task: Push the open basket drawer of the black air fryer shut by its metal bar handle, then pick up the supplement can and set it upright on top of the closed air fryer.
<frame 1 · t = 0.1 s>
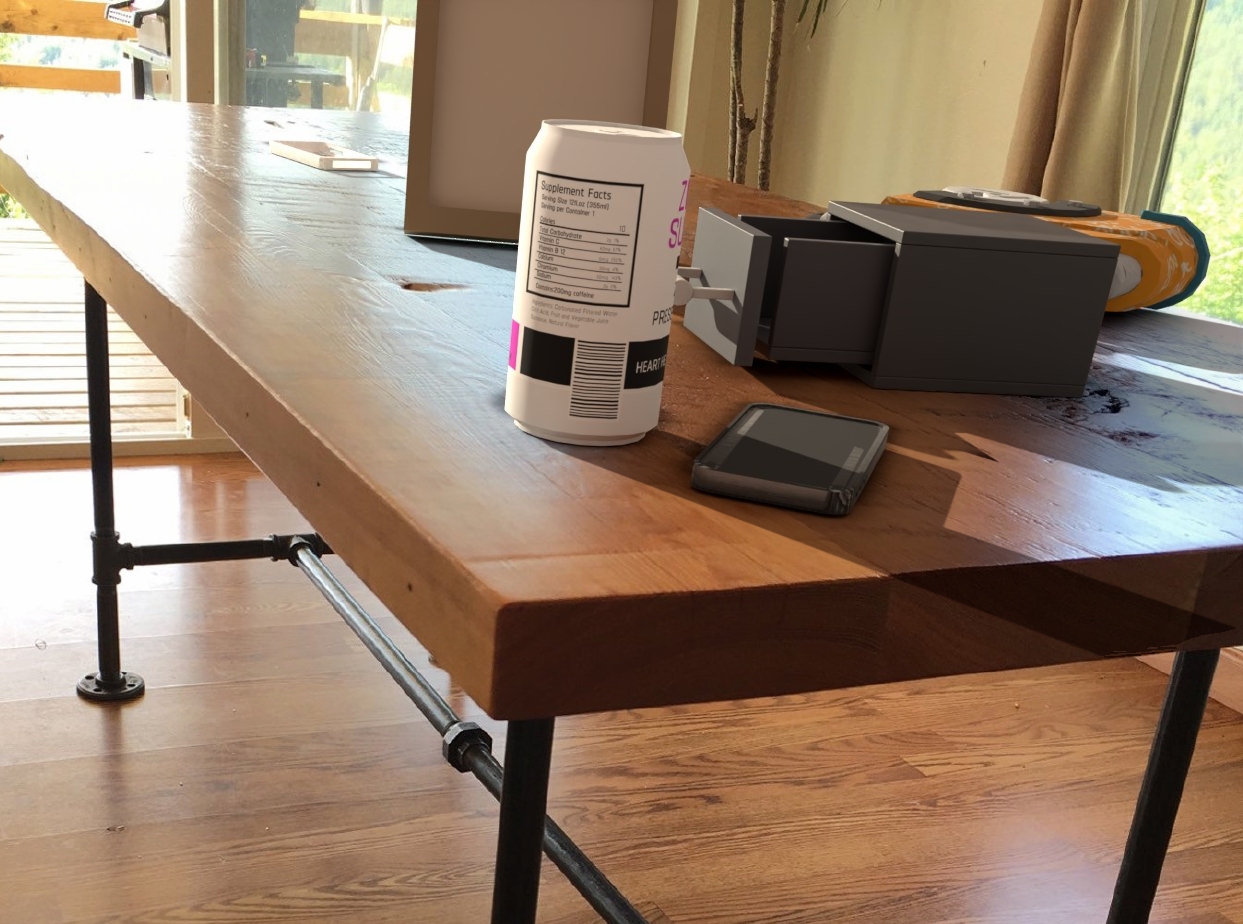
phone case: (322, 163, 177), on the table
device: (987, 299, 132), on the table
supplement can: (579, 431, 81), on the table
photo frame: (524, 241, 138), on the table
phone: (793, 468, 78), on the table
air fryer: (937, 369, 103), on the table
drawer: (783, 287, 98), point 5 cm above the table, slide at 8.0 cm
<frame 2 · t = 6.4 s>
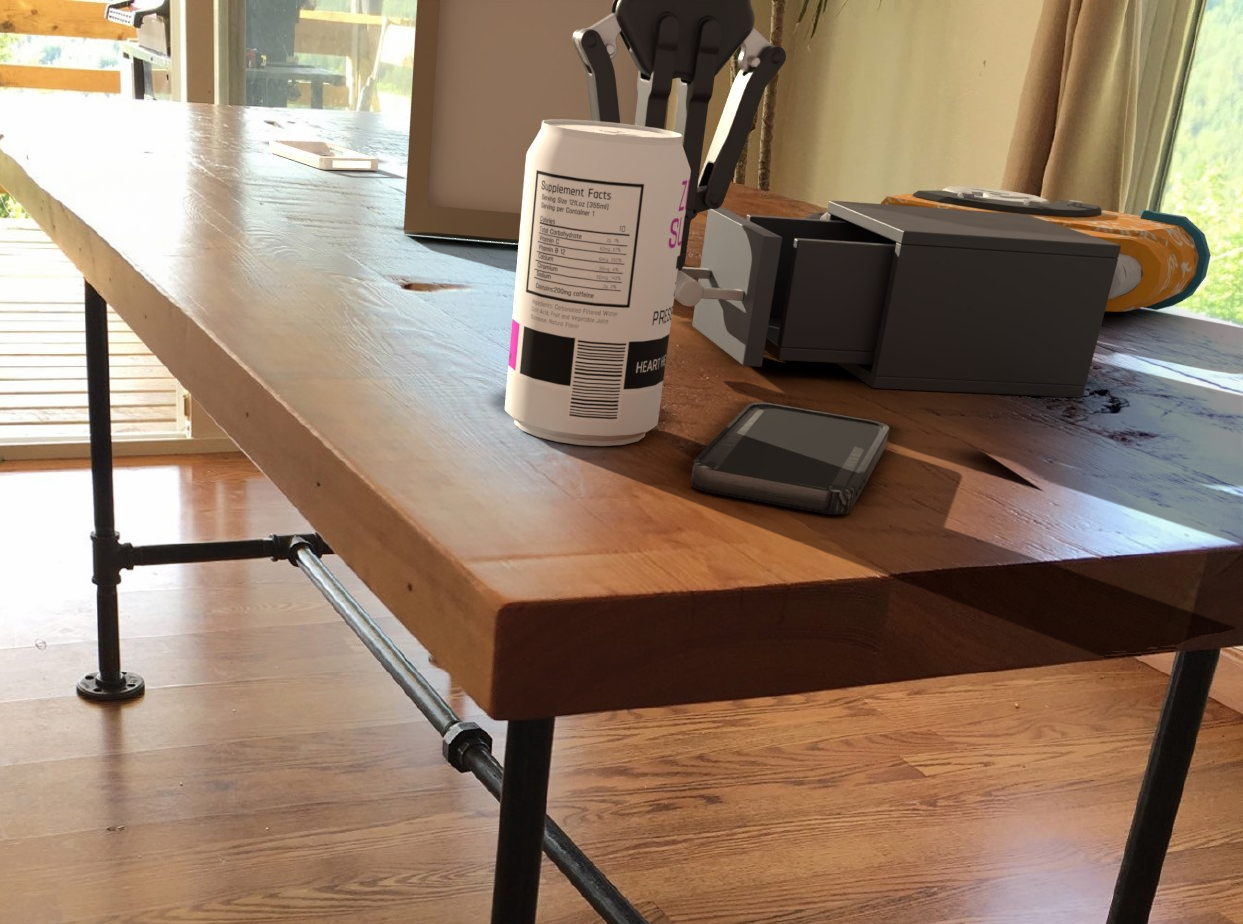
hand: (645, 320, 98), 2 cm above the table, tool pointing down, fingers closed
drawer: (792, 288, 98), point 5 cm above the table, slide at 7.4 cm, touching gripper
everything else where it was.
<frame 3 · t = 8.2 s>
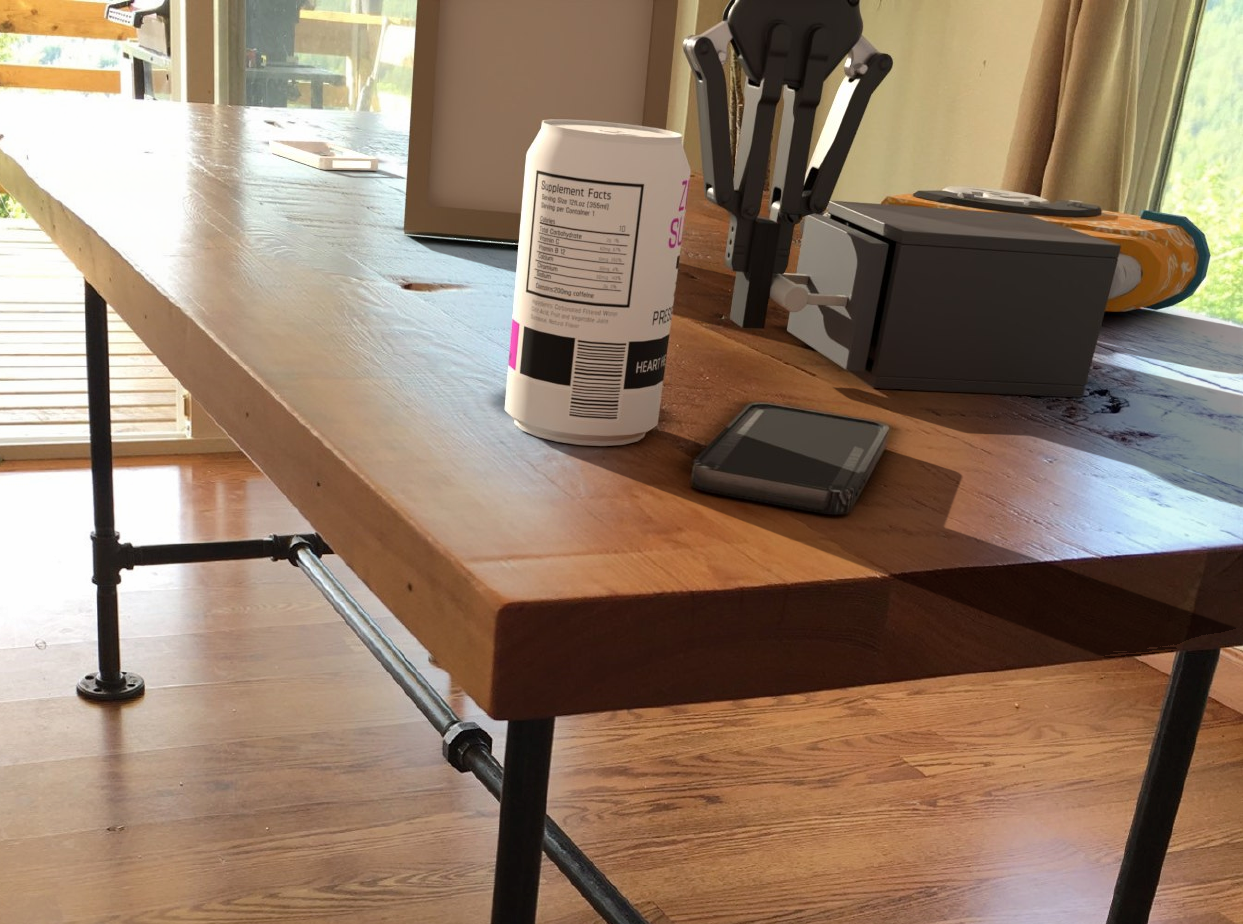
hand: (746, 323, 99), 2 cm above the table, tool pointing down, fingers closed
drawer: (891, 293, 100), point 5 cm above the table, slide at 0.5 cm
everything else where it was.
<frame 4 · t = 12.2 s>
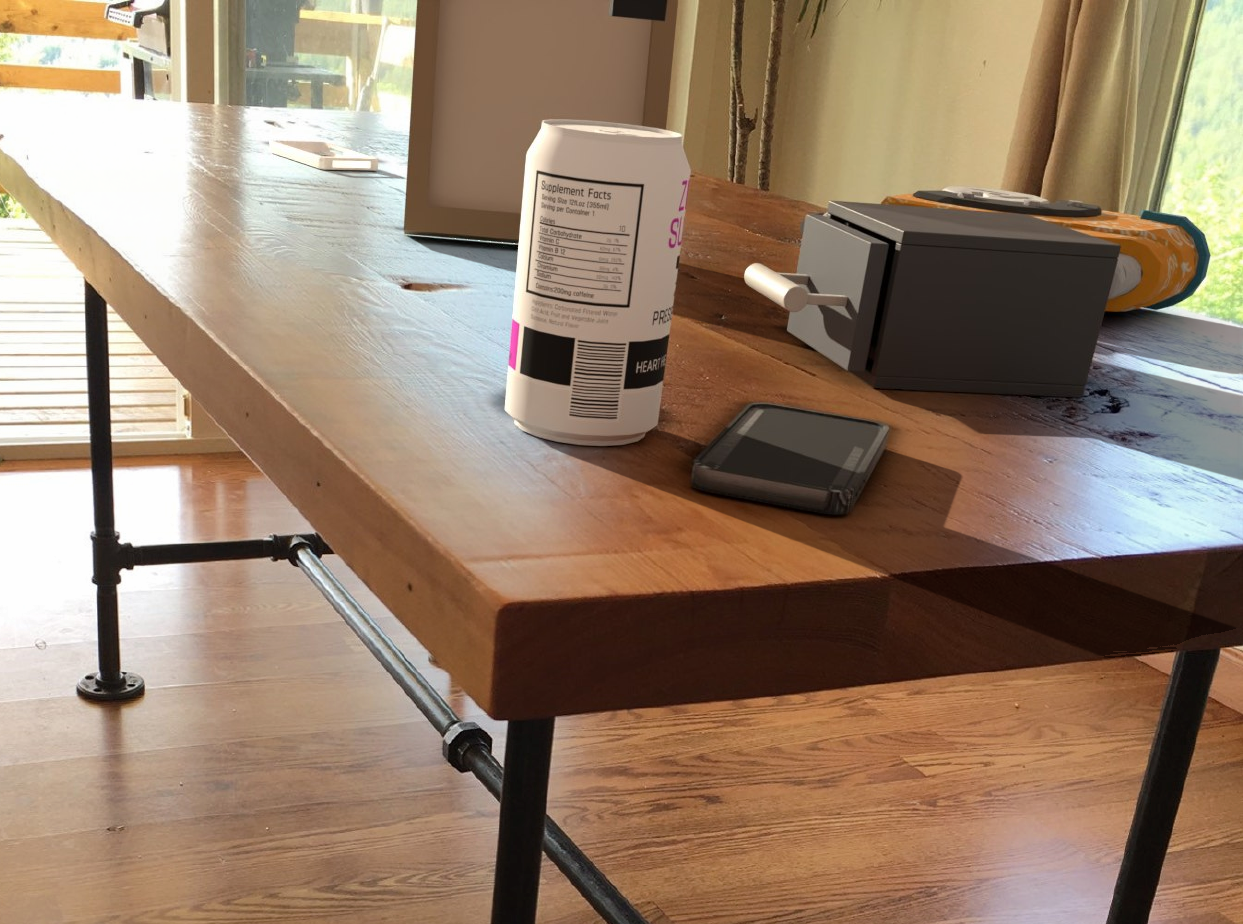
hand: (636, 17, 77), 20 cm above the table, tool pointing down, fingers closed
nothing on the table moved.
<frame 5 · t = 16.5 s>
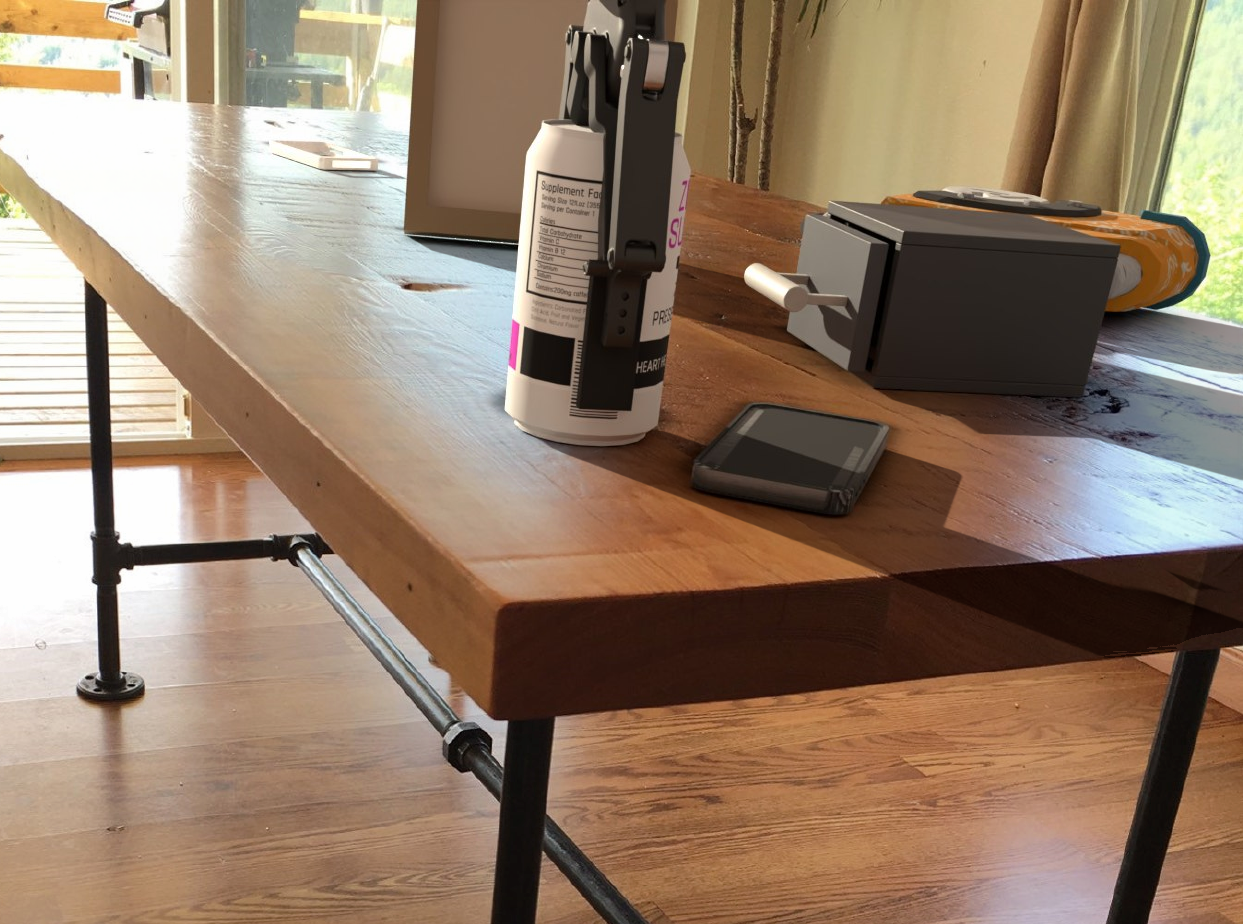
hand: (584, 385, 80), 2 cm above the table, tool pointing down, fingers closed on supplement can, 8 cm apart
supplement can: (579, 431, 81), on the table, touching gripper
everything else where it was.
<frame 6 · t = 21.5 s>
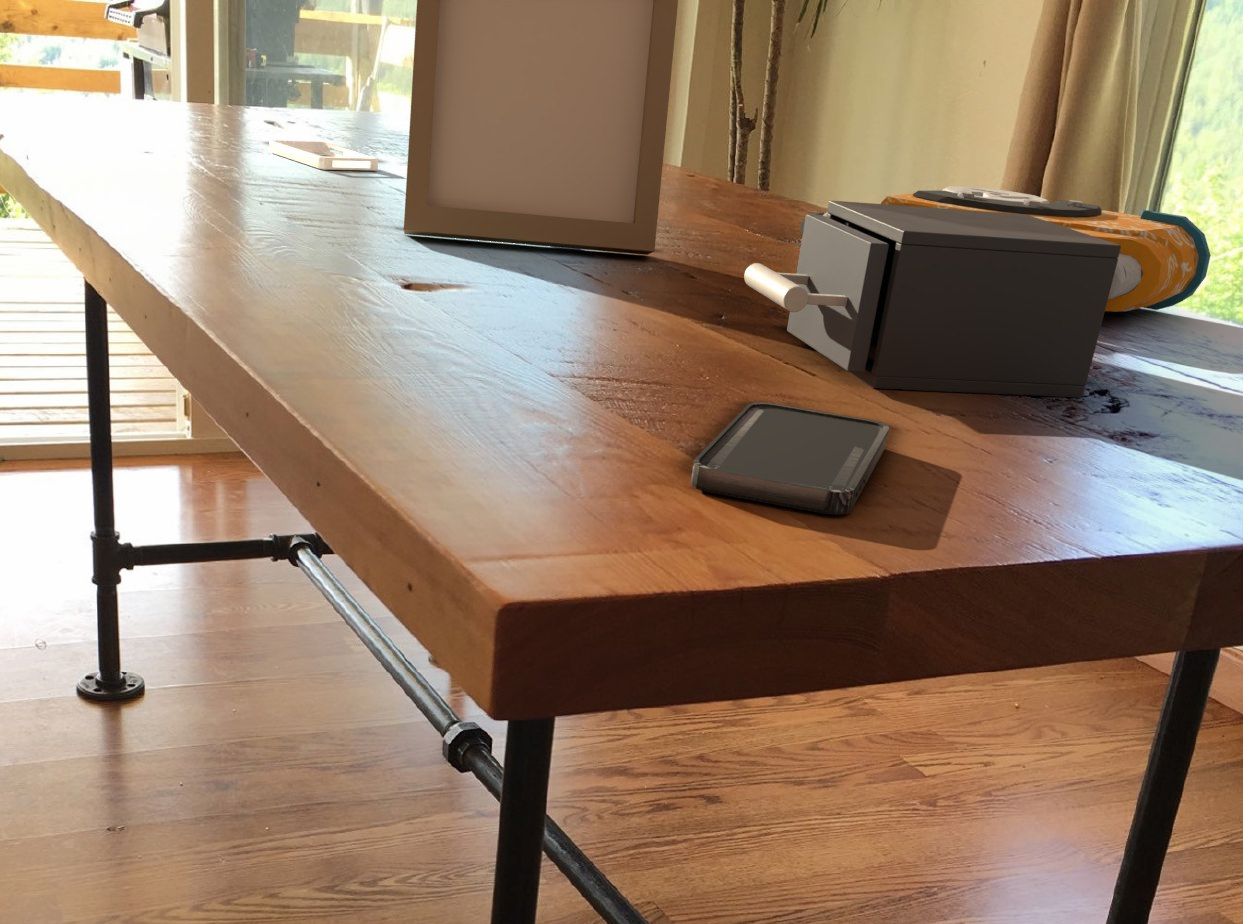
when the fingers open (12 cm above the table, at t = 26.4 s): supplement can stays where it is, resting on air fryer.
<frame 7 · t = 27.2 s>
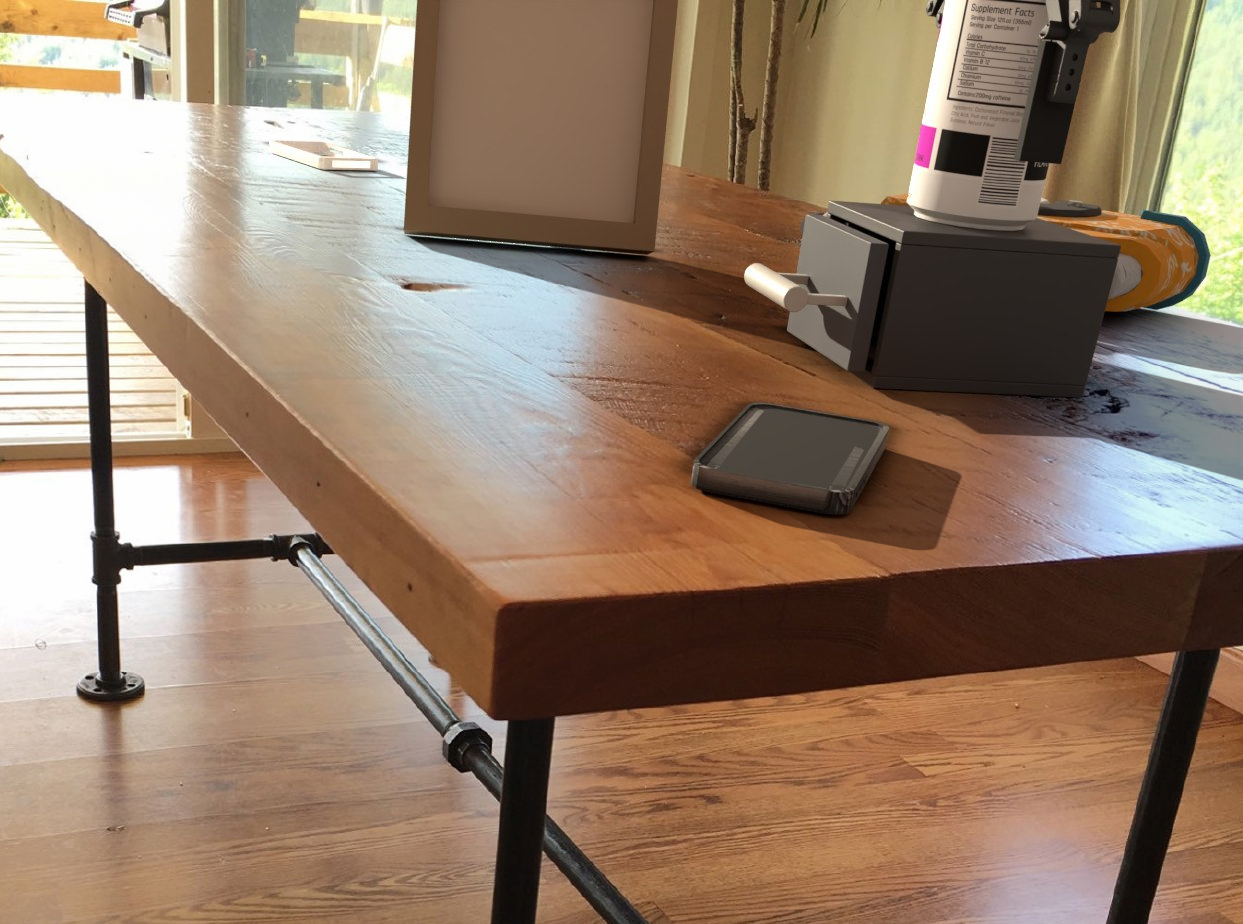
hand: (985, 149, 96), 14 cm above the table, tool pointing down, fingers open, 13 cm apart
supplement can: (968, 224, 99), point 9 cm above the table, touching air fryer
everything else where it was.
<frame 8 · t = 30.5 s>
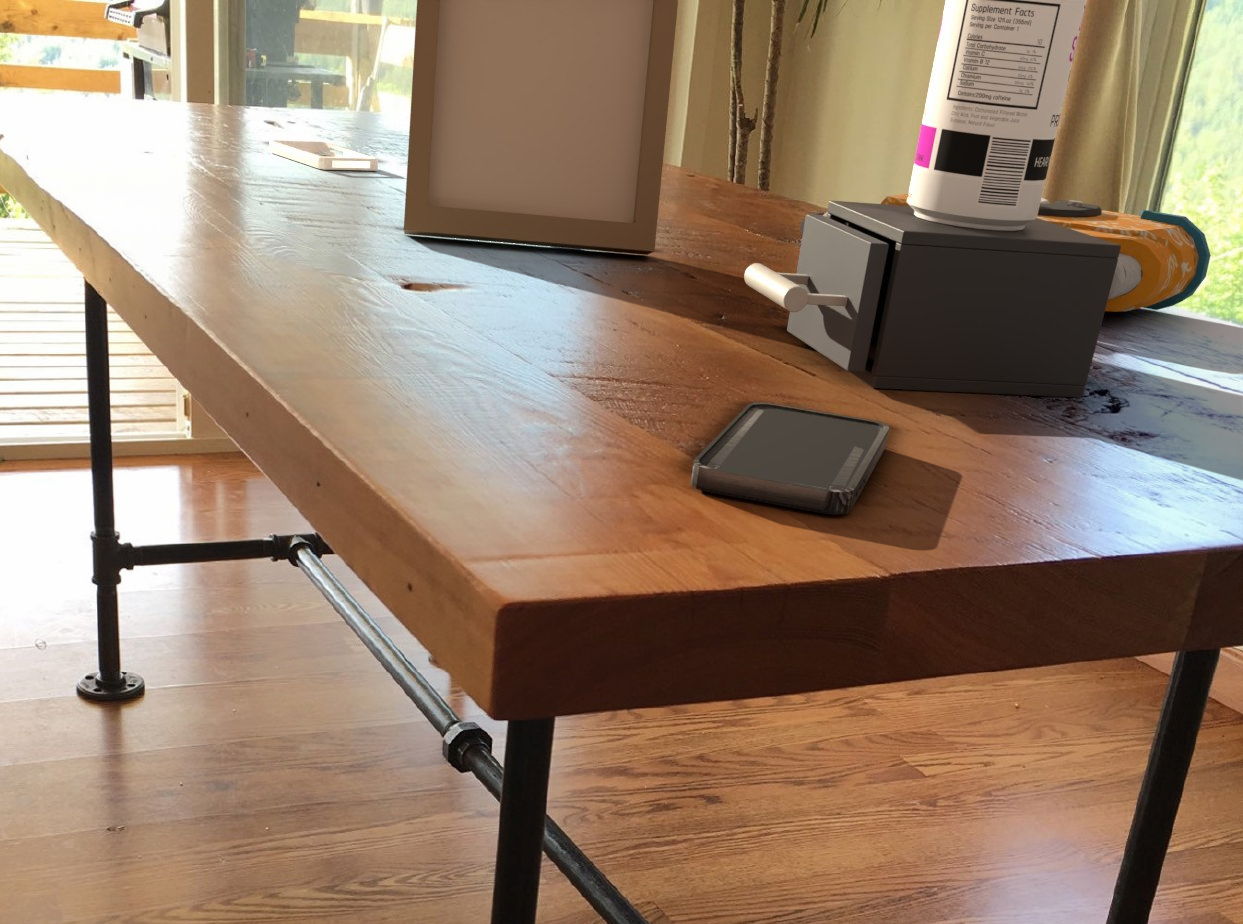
nothing on the table moved.
at the end: drawer slide at 0.5 cm; supplement can inside the target area on the air fryer (0.0 cm from its centre), point 9.4 cm above the air fryer's base; supplement can tilted 0° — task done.
